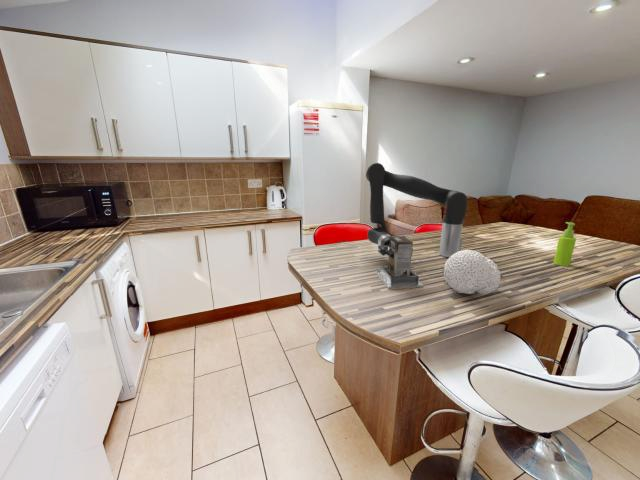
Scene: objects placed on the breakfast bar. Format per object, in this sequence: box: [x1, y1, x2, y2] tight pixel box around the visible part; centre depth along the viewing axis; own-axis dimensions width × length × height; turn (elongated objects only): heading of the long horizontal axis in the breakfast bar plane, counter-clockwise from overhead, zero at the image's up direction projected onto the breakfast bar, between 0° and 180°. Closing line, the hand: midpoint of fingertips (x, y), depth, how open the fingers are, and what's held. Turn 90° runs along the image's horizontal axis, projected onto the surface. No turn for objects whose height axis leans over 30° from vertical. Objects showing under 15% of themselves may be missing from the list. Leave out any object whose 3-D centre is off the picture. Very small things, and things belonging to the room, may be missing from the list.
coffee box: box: [387, 235, 414, 277], centre depth 111 cm, size 9×6×16 cm
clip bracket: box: [375, 265, 424, 290], centre depth 113 cm, size 14×17×4 cm
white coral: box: [443, 249, 502, 296], centre depth 102 cm, size 20×18×16 cm
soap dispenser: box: [553, 221, 577, 267], centre depth 127 cm, size 6×7×20 cm
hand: (401, 255), depth 108 cm, fingers open, 6 cm apart
